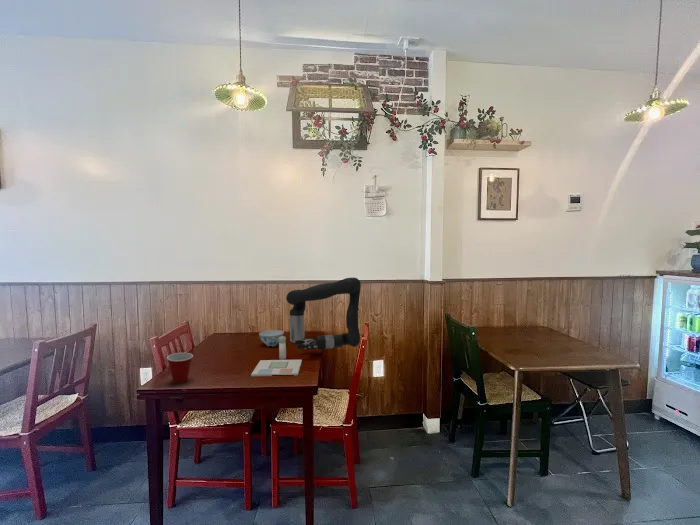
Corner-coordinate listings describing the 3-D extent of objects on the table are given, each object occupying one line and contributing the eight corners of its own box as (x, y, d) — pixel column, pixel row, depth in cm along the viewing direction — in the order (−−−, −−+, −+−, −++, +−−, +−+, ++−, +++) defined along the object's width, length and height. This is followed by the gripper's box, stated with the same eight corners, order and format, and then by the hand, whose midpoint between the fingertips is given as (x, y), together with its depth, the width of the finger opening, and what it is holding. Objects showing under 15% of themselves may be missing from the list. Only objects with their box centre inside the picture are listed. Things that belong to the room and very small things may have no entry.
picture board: (260, 362, 184) (260, 360, 184) (302, 361, 185) (301, 359, 185) (251, 376, 164) (251, 374, 164) (297, 375, 165) (297, 373, 165)
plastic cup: (183, 386, 153) (182, 360, 152) (162, 385, 155) (161, 358, 154) (198, 377, 163) (198, 352, 163) (178, 376, 165) (177, 351, 165)
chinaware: (281, 348, 208) (280, 335, 208) (256, 348, 209) (256, 336, 208) (286, 341, 223) (286, 329, 223) (263, 341, 224) (262, 329, 223)
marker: (279, 357, 191) (279, 336, 191) (286, 357, 191) (286, 336, 191) (278, 359, 188) (278, 338, 187) (285, 359, 188) (285, 337, 187)
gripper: (322, 332, 203) (294, 334, 198) (327, 338, 189) (298, 341, 184) (322, 345, 203) (294, 347, 198) (328, 352, 190) (298, 355, 185)
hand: (296, 344), depth 191 cm, fingers open, 8 cm apart
